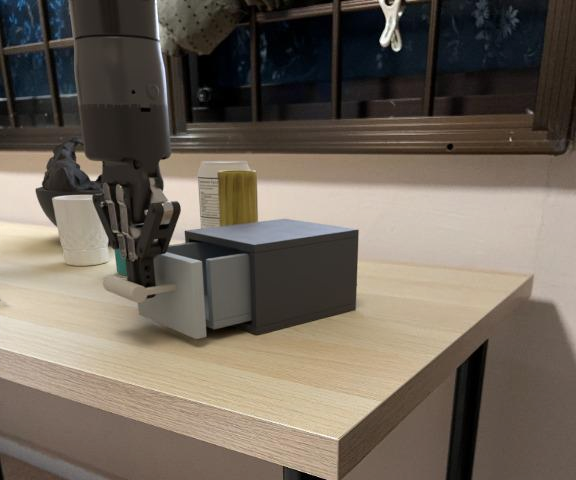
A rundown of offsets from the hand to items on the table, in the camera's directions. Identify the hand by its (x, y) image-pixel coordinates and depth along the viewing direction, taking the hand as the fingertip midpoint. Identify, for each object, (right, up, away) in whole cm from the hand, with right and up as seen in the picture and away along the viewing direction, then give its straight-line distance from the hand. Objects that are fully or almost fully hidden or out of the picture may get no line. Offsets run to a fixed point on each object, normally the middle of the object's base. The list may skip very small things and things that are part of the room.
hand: (143, 297), depth 59 cm
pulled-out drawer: (+5, -2, +5) cm, 7 cm away
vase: (+7, +7, +28) cm, 30 cm away
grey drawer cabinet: (+12, 0, +11) cm, 17 cm away
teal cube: (-8, +8, +30) cm, 32 cm away
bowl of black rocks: (-22, +18, +56) cm, 63 cm away
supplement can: (+5, +11, +38) cm, 40 cm away
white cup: (-18, +11, +38) cm, 44 cm away
